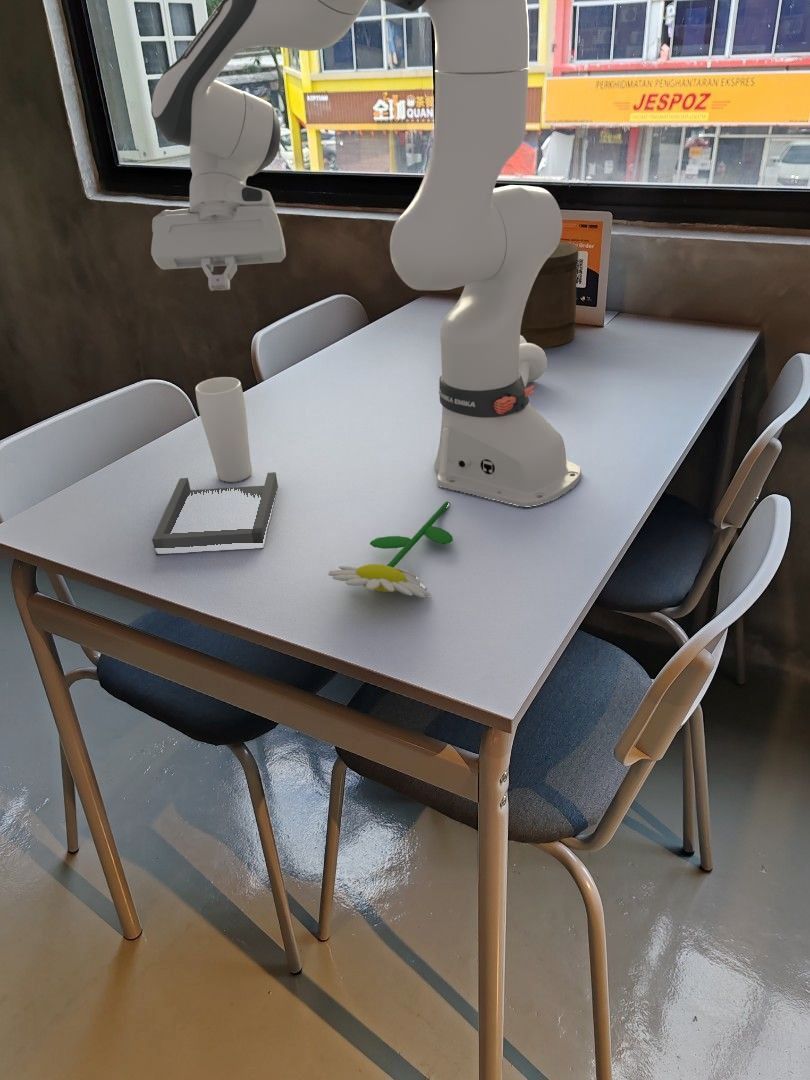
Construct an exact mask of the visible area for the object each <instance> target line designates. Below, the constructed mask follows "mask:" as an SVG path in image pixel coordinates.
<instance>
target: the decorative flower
mask: <svg viewBox="0 0 810 1080" xmlns="http://www.w3.org/2000/svg"><path fill="white" fill-rule="evenodd" d="M448 503H450V502H449V501H445V502H444V503H443V504H442V505H441V506H440V507H439V508H438V509H437V510H436V512H434V514H433V515H431V517H430V518H429V519H428V521H426V522H425V524H424V525H423V526H422V527H421V528H420V529H419V530H418V531H417V532H416V533H415V534H414V535H413V537H412V538H410V537H407V536H400V535H393V536H392V535H389V536H384V537H383V536H382V537H377V538H375V539H373V540H371V541H370V542H369V545H370V546H372V547H373V548H376V549H383V550H385V549H399V548H401V549H400V550H399V552H398V553H397V554H396V555H395V556H394V557H393V558H392V559H391V561H390V562H388V563H387V565H385V564H381V563H375V564H374V563H373V564H372V563H370V564H365V565H362V566H359V567H354V566H346V565H345V566H344V565H342V566H341V565H340V566H338V569H333V570H330V571H328V573H327V575H328V576H330V577H331V579H333V580H335V581H340V582H344V584H345V585H347V586H363V587H365V588H367V589H368V590H372V591H376V592H381V593H382V592H384V593H393V592H394V593H395V592H399V593H401V594H403V595H407V596H410V597H411V596H413V595H415V596H417V597H419V598H422V599H423V598H426V597H428V596H432V594H431V593H430V592H429V591H428V590H427V589H426V590H427V591H428V592H427V591H426V590H425V589H424V588H423V587H422V586H420V582H421V581H420V580H419V579H416V576H417V575H416V574H414V573H412V572H411V571H408V570H406V569H404V568H401V567H400V568H399V567H396V566H397V565H398V563H399V562H400V561H401V560H402V559H404V557H405V556H406V555H407V554H408V552H409V551H410V550H411V549H412V548H413V547H414V546H415V545H416V543H418V541H419V540H420V539H421V538H422V537H423V536H425V537H426V538H427V539H429V540H431V541H433V542H435V543H439V544H443V545H445V544H447V545H448V544H451V543H452V542H453V541H454V538H453V537H454V536H453V535H452V534H451V533H450V532H449V531H447V530H446V529H444V528H442V527H440V526H434V524H435V522H437V520H438V519H439V518H440V517H441V516H442V515H443V514H444V513H445V511H446V510H447V509H446V507H447V505H448ZM445 509H446V510H445ZM444 510H445V511H444ZM443 512H444V513H443ZM442 513H443V514H442Z"/></svg>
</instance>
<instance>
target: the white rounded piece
mask: <svg viewBox="0 0 810 1080" xmlns="http://www.w3.org/2000/svg"><path fill="white" fill-rule="evenodd" d="M547 365H548V358H547V356H546V353H545V351H544V350H543V348H540V347H539V346H537V345H535V344H531V343H527V342H526V340H525V339H524V337H523V336H521V335H520V346H519V373H520V374H521V377H522V380H523V382H524V385H525V388H527V385H528V384H529V383H533V382H535V381H537V380H538V379H539V378H541V377H542V376H543V375H544V373H545V372H546V369H547Z"/></svg>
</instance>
